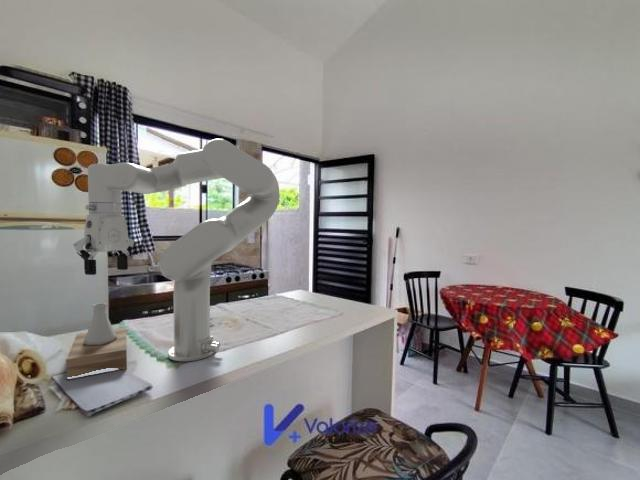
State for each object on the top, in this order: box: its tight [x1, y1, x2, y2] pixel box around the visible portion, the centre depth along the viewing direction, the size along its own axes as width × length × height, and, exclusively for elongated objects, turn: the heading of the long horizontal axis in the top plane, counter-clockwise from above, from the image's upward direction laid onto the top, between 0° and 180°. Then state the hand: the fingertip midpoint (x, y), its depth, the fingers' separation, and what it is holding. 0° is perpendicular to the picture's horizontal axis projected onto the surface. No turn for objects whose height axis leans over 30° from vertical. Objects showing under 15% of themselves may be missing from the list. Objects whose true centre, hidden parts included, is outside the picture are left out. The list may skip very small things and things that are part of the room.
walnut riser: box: [65, 326, 128, 378], centre depth 86 cm, size 20×12×5 cm, turn 31°
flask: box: [83, 302, 118, 345], centre depth 86 cm, size 7×7×10 cm
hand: (107, 271), depth 89 cm, fingers open, 9 cm apart
